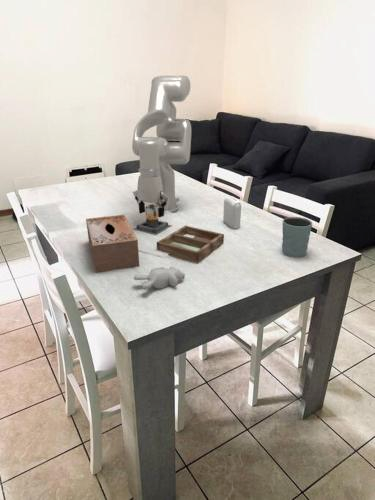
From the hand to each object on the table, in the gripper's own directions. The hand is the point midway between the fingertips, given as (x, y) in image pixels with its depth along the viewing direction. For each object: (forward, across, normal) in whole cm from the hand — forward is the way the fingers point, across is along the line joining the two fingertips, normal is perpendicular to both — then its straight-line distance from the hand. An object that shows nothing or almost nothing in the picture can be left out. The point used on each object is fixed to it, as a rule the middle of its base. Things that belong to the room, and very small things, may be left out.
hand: (151, 214), depth 150 cm
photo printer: (+7, +26, +23) cm, 35 cm away
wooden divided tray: (+7, +23, -6) cm, 25 cm away
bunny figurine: (+8, +28, -34) cm, 45 cm away
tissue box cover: (+8, +1, -25) cm, 26 cm away
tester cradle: (+7, 0, +1) cm, 7 cm away
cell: (+6, 0, +1) cm, 6 cm away
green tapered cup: (+7, +57, +10) cm, 58 cm away
